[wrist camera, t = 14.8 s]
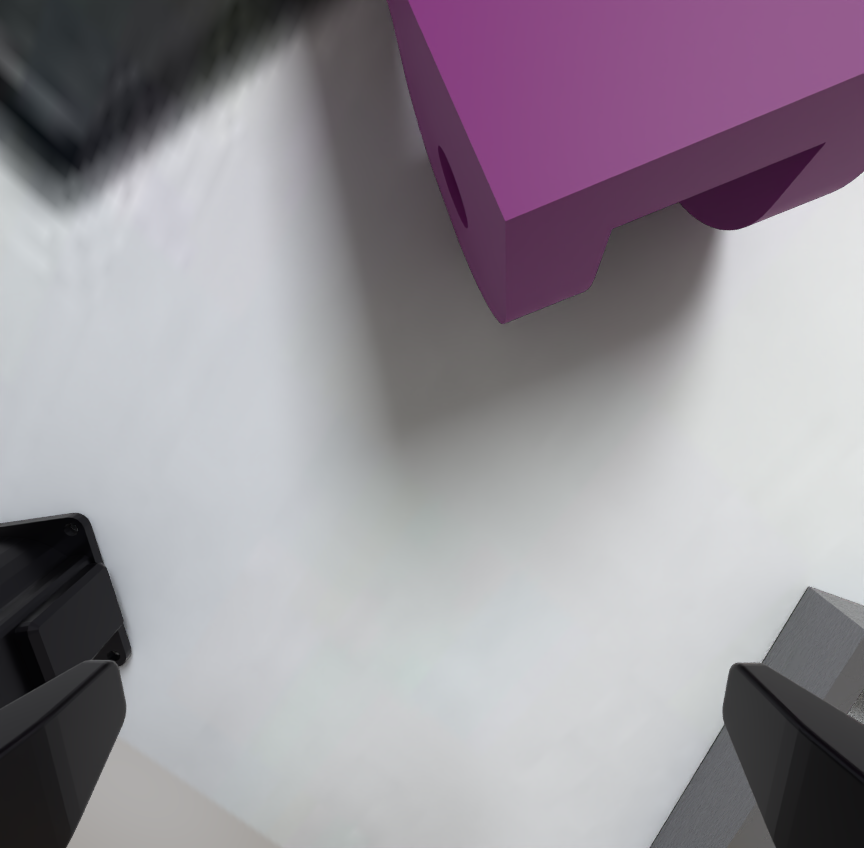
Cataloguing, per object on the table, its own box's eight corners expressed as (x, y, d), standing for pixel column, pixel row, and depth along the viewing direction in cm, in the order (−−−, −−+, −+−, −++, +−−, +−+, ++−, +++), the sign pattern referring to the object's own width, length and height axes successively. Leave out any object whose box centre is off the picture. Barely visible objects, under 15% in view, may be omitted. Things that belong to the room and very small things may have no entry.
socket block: (724, 992, 28) (762, 1079, 25) (584, 957, 27) (605, 1043, 24) (970, 643, 23) (1054, 699, 20) (809, 586, 22) (871, 635, 19)
